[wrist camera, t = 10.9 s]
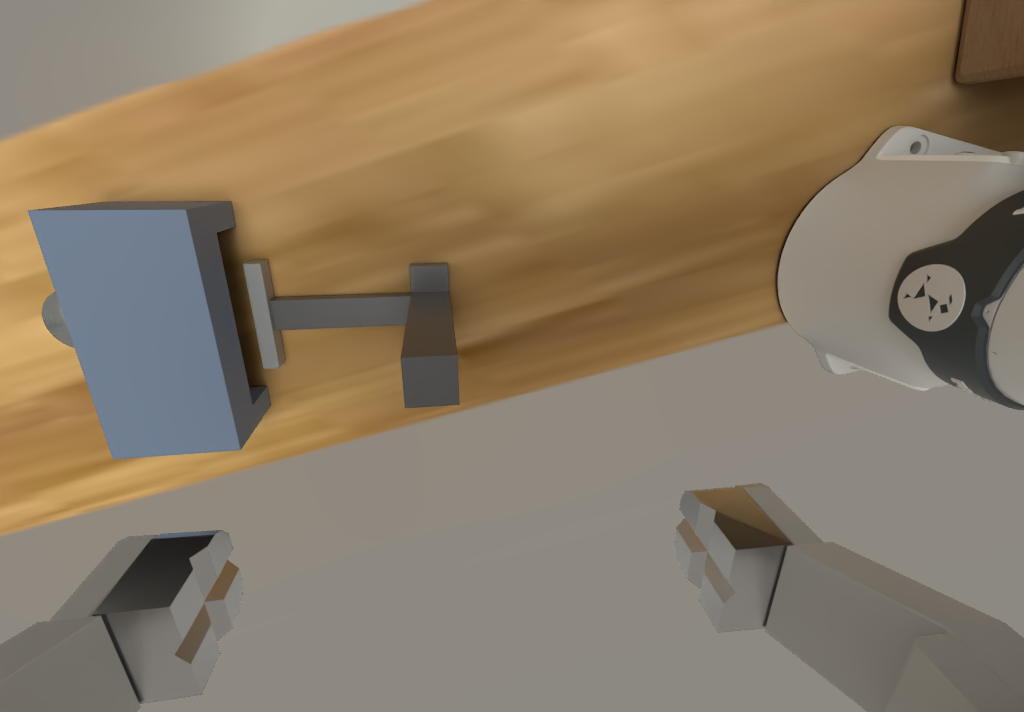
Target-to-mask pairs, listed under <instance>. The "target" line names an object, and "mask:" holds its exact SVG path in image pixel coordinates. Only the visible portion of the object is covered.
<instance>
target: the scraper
mask: <svg viewBox="0 0 1024 712" xmlns="http://www.w3.org/2000/svg"><path fill="white" fill-rule="evenodd" d="M243 267H244V272H245V278H246V283H247V288H248V293H249V298H250V303H251V308H252V313H253V318H254V323H255V328H256V333H257V338H258V343H259V348H260V353H261V358H262V363H263V369H273V368H280V367H281V365H282V364H283V363H284V361H285V360H286V359H285V354H284V348H283V342H282V337H281V331H280V330H296V329H320V328H344V327H368V326H392V325H406V329H405V335H404V341H403V347H402V353H401V366H402V378H403V390H404V402H405V408H417V407H432V406H447V405H459V382H458V357H457V348H456V341H455V333H454V326H453V318H452V310H451V303H450V295H449V281H448V263H416V264H410V266H409V267H410V280H411V293H384V294H353V295H322V296H291V297H274V292H273V286H272V281H271V275H270V270H269V264H268V259H258V260H250V261H248V262H246V263H244V264H243Z"/></svg>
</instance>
